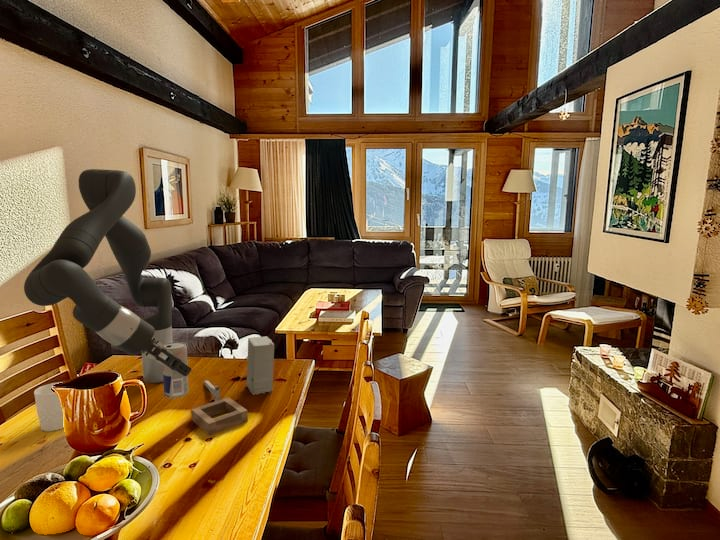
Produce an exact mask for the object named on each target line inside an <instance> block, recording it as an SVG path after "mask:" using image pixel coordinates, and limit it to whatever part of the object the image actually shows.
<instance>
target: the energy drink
mask: <svg viewBox="0 0 720 540" xmlns="http://www.w3.org/2000/svg"><path fill="white" fill-rule="evenodd" d="M186 344H187V343H186V342H183V341H173V342H171V343H167V344H165V345H163V346H164V347H166V348H167V349H169V350H170V351H172V352H173V356H175V357H176V358H179V359H180V360H181V361H182V362H183V363H184V364H186V365H187V366H188V348H187V347H188V346H187V345H186ZM162 349H163V348H162ZM174 360H175V359H174ZM174 360H173V361H174ZM173 361H172V362H171V363H170V365H171V364H172V363H173ZM188 367H189V366H188ZM162 383H163V395H164V396H165V397H166V398H167V399H178V398H182V397H185V396H186V395H187V394H188V393H189V374H188V375H187V376H183V375H182V374H180V373H179V372H177V371H176V370H175V371H174V370H172V369H170V367H168V366H167V365H163V382H162Z"/></svg>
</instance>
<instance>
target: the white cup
mask: <svg viewBox="0 0 720 540" xmlns="http://www.w3.org/2000/svg"><path fill="white" fill-rule="evenodd" d="M63 382H64V381H59V382H52V383H48V384H45V385H42V386H39V387H38V388H36V389H35V390H34V391H33V394H34V400H35V407H36V413H37V418H38V420H39V427H40V430H41V431H43V430H44V431H43V432H54V431H53V430H56V431H60V430H62V429H64V428H63V411H62V407H61V404H60V401H59V398H58V396H57V394H56V393H55V392H53V391H52V390H51V386H53V385H55V384H59V383H63ZM59 429H60V430H59Z"/></svg>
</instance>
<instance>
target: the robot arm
mask: <svg viewBox="0 0 720 540" xmlns="http://www.w3.org/2000/svg"><path fill="white" fill-rule="evenodd" d="M136 186H137V185H136V182H135V179H134V177H133V176H132V175H131V173H129V172H128V171H124V170H117V169H98V168H96V169H95V168H94V169H93V168H91V169H86V170H83V171H82V172H81V173H80V174H79V176H78V190H79V193H80V196H81V198H82V200H83V202H84V204H85V206H86V207H87V209H88V211H87V212H85V213H84V214H82V215H80V216H78V217H77V218H75V219H74V220H73V221H71V222H70V223H69V224H67V225H66V227H65V228H64V229H63V230H62V232H61V233H60V235H59V237H57V240H56V241H55V242H54V245H53V246H52V248H51V249H50V250H49V251H48V253H47V254H46V255H45V256H44V257H43V258H41V260H40V261H39V262H38V263H37V264H36V265H35V267H33V269H32V270H31V271H30V272H29V274H28V276H26V279H25V281H24V284H23V290H24V291H23V292H24V294H25V297H26V299H28V301H29V302H31V303H32V304H35V305H36V306H42V307H47V306H49V307H50V306H54V305H56V304H58V303H60V302H62V301H63V300H65V299H67V298H68V299H70V300H71V301H72V302H73V303H74V304H75V306H74V307H73V309H72V317H73V318H74V319H75V320H76V321H77V322H79V323H80V324H82V325H83V326H84V327H86V328H88V329H90V330H91V331H92V332H95V334H97V335H98V336H99V337H100V338H102V340H105V341H106V342H107V343H109V344H111V345H113V347H115V348H117V349H118V350H119V351H122V352H123V353H125V354H126V355H128V356H136V355H138V354H139V353H141V361H142V363H141V365H142V379H143V381H144V382H145V383H151V384H159V383H164V382H163V365H167V366H168V367H170V369H172V370H174V371H175V370H176V371H177V372H179V373H180V374H182V375H183V376H187V375H188V376H189V374H190V373H191V372H192V368H191V367H190V366H187V365H186V364H184V363H183V362H182V361H181V360H180V359H179V358H176V357H175V356H173V352H172V351H170V350H169V349H167V348H166V347H164V346H163V345H165V344H167V343H171V342H174V341H173V327H172V326H173V325H172V284H171V281H170V280H169V279H168V278H166V277H144V276H143V275H142V273H143V272H144V270H145V269H146V266H148V264H149V262H150V260H151V256H152V250H151V247H150V245H149V242H148V239H147V236H146V235H145V233H144V232H143V231H142V229H140V227H138V226H137V225H136V224H134V223H133V222H132V221H131V220H129V219H128V218H126V217H125V216H124V214H126V212H127V211H129V209H130V208H131V206H132V205H133V203H134V201H135V198H136V192H137V189H136ZM104 238H106V240H107V243H108V245H109V248H110V249H111V252H112V254H113V256H114V258H115V260H116V261H117V263H118V265H119V267H120V269H121V271H122V274H123V276H124V277H125V281H126V283H127V286H128V289H129V292H130V295H131V298H132V300H133V302H134V304H135V305H136V306H137V307H140V308H151V307H152V308H155V307H156V308H157V311H156V312H155V313H153V314H150V315H148V316H145V317H143V318H142V317H140V316H138V315H137V314H136V313H135V312H133V311H131V310H130V309H128V308H126V307H125V306H123V305H121V304H119V303H118V302H117V301H115V300H114V299H112V298H111V297H109V296H108V295H106V293H104V292H103V291H102V290H101V288H100V287H99V285H98V284H97V283H96V282H95V280H94V279H93V278H92V277H91V276H90V274H88V272H87V271H86V270H85V269H84V268H85V267H87V266H88V264H90V262H91V260H92V259H93V258H94V255H95V253H96V252H97V251H98V248H99V245H100V244H101V242H102V241H103V239H104ZM162 348H163V349H162ZM174 359H175V360H174ZM173 360H174V361H173ZM172 361H173V363H172V364H171V365H170V363H171V362H172Z"/></svg>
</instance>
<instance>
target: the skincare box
mask: <svg viewBox="0 0 720 540" xmlns="http://www.w3.org/2000/svg"><path fill="white" fill-rule="evenodd" d="M274 359H275V343H274V342H273V341H272V339H270V338H269V336H267V335H266V336H253V337H252V336H251V337H248V338H247V360H246V363H247V365H246V366H247V367H246V368H247V369H246V387H247V388H248V390H249V391H250V393H251V395H252V396H255V394H256V395H261V394H260V393H262V394H266V393H265V392H269V393H271V392H270V391H272V392H273V387H274V386H273V385H274V366H275V365H274V363H275V360H274Z"/></svg>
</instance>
